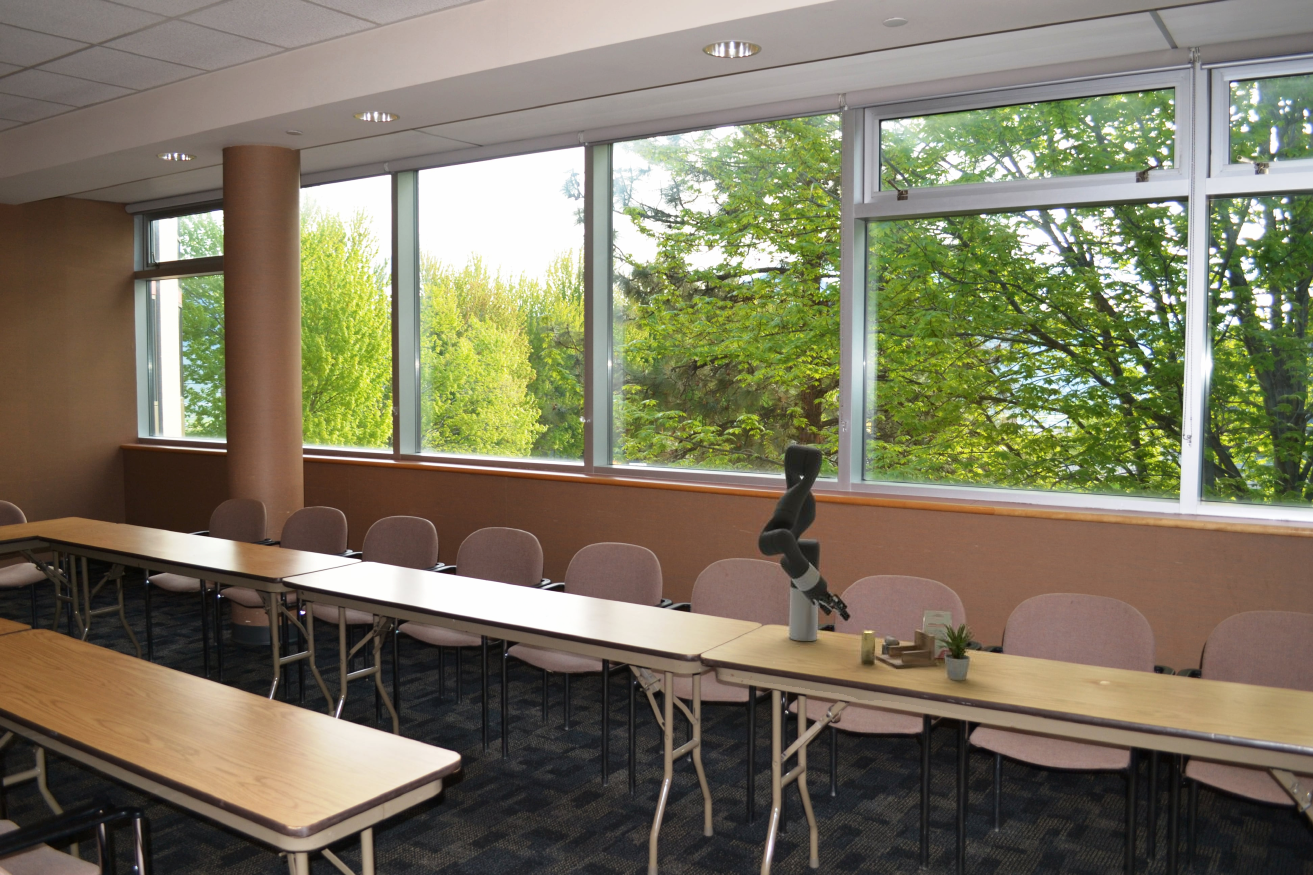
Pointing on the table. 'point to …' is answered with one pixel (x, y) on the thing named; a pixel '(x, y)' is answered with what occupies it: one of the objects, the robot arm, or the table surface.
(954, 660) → the house plant
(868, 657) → the spacer
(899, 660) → the cradle
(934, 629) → the ink cartridge box
